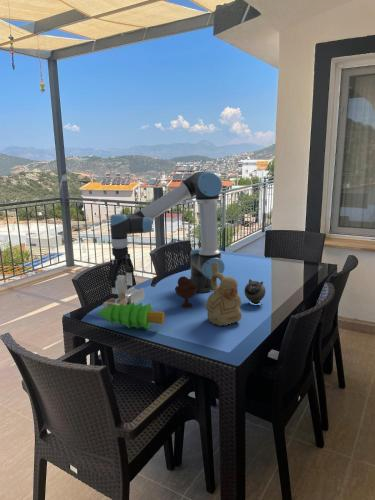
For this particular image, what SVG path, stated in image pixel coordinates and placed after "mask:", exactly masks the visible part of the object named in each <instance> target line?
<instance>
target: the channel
mask: <svg viewBox="0 0 375 500" xmlns="http://www.w3.org/2000/svg"><path fill="white" fill-rule="evenodd" d="M135 289H136V288H135V286H131V287H129V288H127V293H130V292H131V291H133V290H135ZM145 295H146V294H145V287H141V288H139V289H138V290H137V291H136V292H134V293H133V294H131V295H130V296H129V302H128V303H127V305H129V304H131V303H134V304H135V305H136V304H137V303H138V304H139V303H140V302H141V301H142V300H144V299H145ZM118 299H120V298H118Z"/></svg>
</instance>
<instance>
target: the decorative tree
mask: <svg viewBox="0 0 375 500" xmlns="http://www.w3.org/2000/svg"><path fill="white" fill-rule="evenodd" d="M96 314H98V315H100V317H102V318H103V319H105V320H106V321H108V322H109V323H110V324H114V323H115V322H116V323H117V324H118V325H122V324H123V325H124V326H125V327H127V328H128V329H130V328H132V327H133V326H134V327H135V328H136V329H140V328H141V327H143V328H144V329H145V330H149V328H150V327H151V323H153V324H158V325H159V324H160V325H163V324H164V322H165V311H153V308H152V305H151V303H147V304H145V305H143V303H142V302H139V303H138V304H137V305H136V304H134V303H131V304H129V305H126V306H124V304H121V305H119V306H116V304H114V305H112V306H109V307H107V308H105V309H103V308H102V309H100V310H98V311H96ZM132 325H133V326H132ZM131 326H132V327H131Z"/></svg>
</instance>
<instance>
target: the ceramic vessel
mask: <svg viewBox="0 0 375 500" xmlns="http://www.w3.org/2000/svg"><path fill="white" fill-rule="evenodd" d="M211 266H212V272H213V274H212V276H211V284H212V288H213V292H212V293H211V294H210V295H209V296H208V298H207V300H206V303H205V309H206V311H207V318H208V320H209V322H210V323H211V324H213V325H215V324H216V325H215V326H218V327H223V326H222V325H224V326H229V325H228V324H230V325H232V324H231V323H233V324H235V323H234V322H237V323H239V322H240V321H241V319H242V315H243V313H242V311H241V309H240V307H241V305H242V299H241V296H240V294H239V293H238V292H239V289H238V286H239V283H238V280H236V278H234V277H231V276H225V275H224V273H222V274H221V273H219V271H218V263H211ZM217 279H218V280H219V281H220V282H219V285H218V281H217ZM238 321H239V322H238Z"/></svg>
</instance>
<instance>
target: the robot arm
mask: <svg viewBox="0 0 375 500" xmlns="http://www.w3.org/2000/svg"><path fill="white" fill-rule="evenodd" d="M222 189H223V183H222V178H221V177H220V176H219V175H218V174H217V173H215V172H213V171H209V170H207V171H197V172H195V173H193V174H192V175H190V176H189V177H187V178H185V179H184V180H183V181H181V182H180V183H179V186H177V187H175V188H173V189H171V190H170V191H168V192H166V193H165V194H164V195H162V196H161V197H158V198H157V199H155V200H154V201H152V202H151V203H149V204H148V205H146V206H144V207H142V208H141V209H139V210H137V212H135V213H130V214H129V215H128V216H127V215H126V214H124V213H116V214H112V215H110V218H109V219H110V222H109V224H110V238H111V247H112V248H111V252H112V253H111V254H112V256H113V257H114V259H110V266H109V271H108V276H107V281H108V282H109V281H110V284H111V294H113V295H118V288H117V276H119V272H120V269H121V268H122V267H123V268H124V269H125V271H126V274H125V276H127V286H131V287H133V275H132V273H134V270H135V268H134V264H133V262H132V259H131V254H130V253H129V247H128V246H129V242H128V241H129V240H128V235H132V234H147V233H151V232H152V231H153V220H154V219H156V218H157V217H159V216H161V215H163V213H165V212H167V211H169V210H170V209H172V208H174V207H175V206H176V205H179V204H181V203H182V202H183V201H185V200H186V199H192V198H194V197H195V200H196V202H198V205H199V206H198V208H199V210H198V211H199V226H200V228H199V230H200V231H199V232H200V248H199V247H198V248H192V249H191V250H190V255H189V257H190V277H189V279H191V280H193V281H194V283H195V286H197V291H196V293H208V292H207V291H210V290H213V288H212V284H211V276H212V274H213V272H212V266H211V263H218V271H219V273H221V274H224V272H225V267H226V265H225V262H224V261H223V259H222V251H221V250H220V249H219V245H218V239H219V238H218V218H217V217H218V216H217V202H218V201H219V199H220V192H221V191H222ZM213 291H214V290H213ZM210 292H211V291H210Z"/></svg>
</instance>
